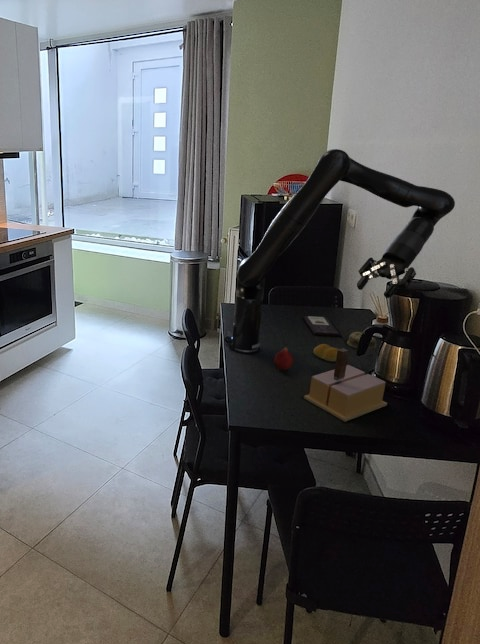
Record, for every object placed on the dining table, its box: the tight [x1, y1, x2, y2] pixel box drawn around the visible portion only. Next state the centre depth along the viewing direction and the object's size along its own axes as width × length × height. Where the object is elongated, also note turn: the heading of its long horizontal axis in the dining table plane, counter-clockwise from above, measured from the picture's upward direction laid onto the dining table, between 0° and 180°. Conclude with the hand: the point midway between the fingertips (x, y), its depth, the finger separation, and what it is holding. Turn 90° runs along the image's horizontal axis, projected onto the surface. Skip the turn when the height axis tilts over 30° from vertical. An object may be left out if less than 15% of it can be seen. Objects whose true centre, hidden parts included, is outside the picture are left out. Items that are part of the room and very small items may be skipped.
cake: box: [303, 364, 388, 423], centre depth 138 cm, size 18×14×7 cm
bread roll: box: [313, 343, 340, 362], centre depth 168 cm, size 8×9×4 cm
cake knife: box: [333, 347, 350, 385], centre depth 135 cm, size 3×2×16 cm, turn 118°
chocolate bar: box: [303, 315, 340, 337], centre depth 194 cm, size 9×1×18 cm
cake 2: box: [346, 331, 377, 351], centre depth 177 cm, size 10×10×5 cm
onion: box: [273, 347, 294, 372], centre depth 157 cm, size 6×6×8 cm
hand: (372, 292), depth 139 cm, fingers open, 8 cm apart
